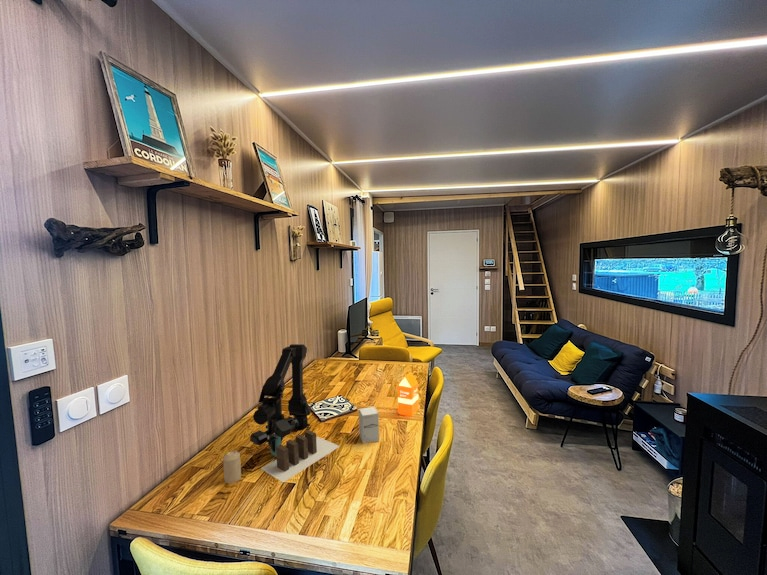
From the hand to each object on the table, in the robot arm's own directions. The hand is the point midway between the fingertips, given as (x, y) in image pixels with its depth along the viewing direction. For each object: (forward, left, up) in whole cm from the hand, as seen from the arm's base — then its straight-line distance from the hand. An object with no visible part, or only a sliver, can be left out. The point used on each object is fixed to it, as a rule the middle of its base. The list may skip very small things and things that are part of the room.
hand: (276, 450), depth 130 cm
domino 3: (+10, +1, -2) cm, 10 cm away
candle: (0, -18, -2) cm, 18 cm away
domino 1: (0, 0, -2) cm, 2 cm away
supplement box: (+23, +31, -2) cm, 39 cm away
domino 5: (+10, +10, -2) cm, 14 cm away
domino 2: (+10, -4, -2) cm, 11 cm away
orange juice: (+23, +63, -2) cm, 67 cm away
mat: (+10, +5, -2) cm, 11 cm away
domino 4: (+10, +5, -2) cm, 11 cm away
